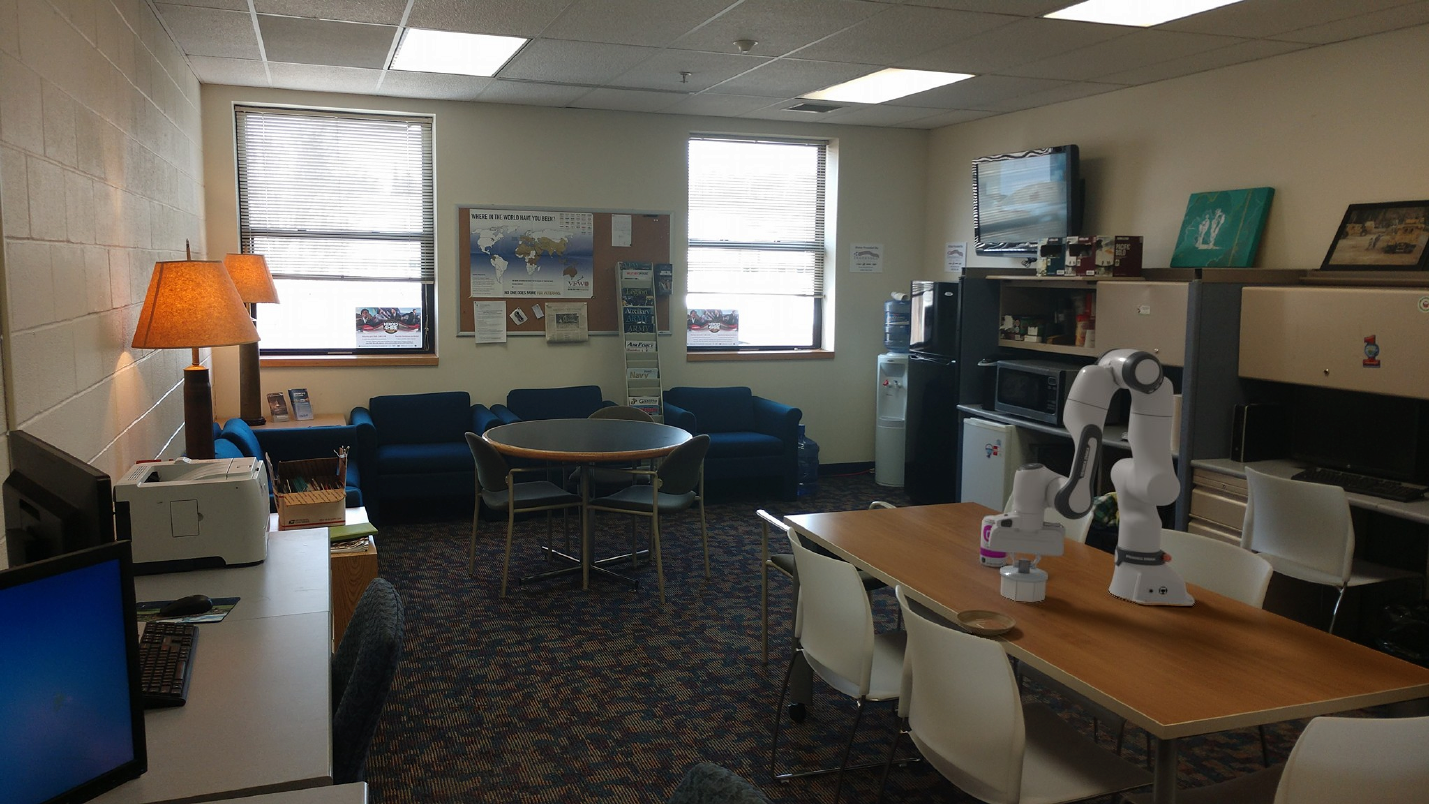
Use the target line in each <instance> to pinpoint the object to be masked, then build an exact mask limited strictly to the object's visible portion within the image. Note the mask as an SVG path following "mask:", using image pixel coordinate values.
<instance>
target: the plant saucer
mask: <svg viewBox="0 0 1429 804" xmlns="http://www.w3.org/2000/svg"><path fill="white" fill-rule="evenodd" d="M955 618H956V620H957V622H958V623H959V625H961V626H962V628H964V630H967V631H969V632H971V633H973V634H977V635H983V636H999V635H998V634H1001V635H1004V634H1007V632H1009V631H1010V630H1012V628H1014V627H1015V625H1016V620H1015V619H1014V618H1012V616H1010V615H1007V614H1005V613H1001V612H997V611H994V610H986V609H967V610H961V611H959V612H958V613H956V614H955ZM976 619H984V620H992V621H994V622H999V623H1001V624H1004V625H1005V626H1007V628H1003V629H986V628H980V627H979V626H978V625H975V624H985V623H980V622H986V621H978V620H976ZM1003 633H1004V634H1003Z"/></svg>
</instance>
